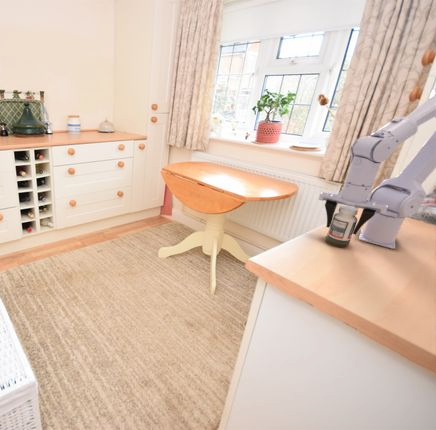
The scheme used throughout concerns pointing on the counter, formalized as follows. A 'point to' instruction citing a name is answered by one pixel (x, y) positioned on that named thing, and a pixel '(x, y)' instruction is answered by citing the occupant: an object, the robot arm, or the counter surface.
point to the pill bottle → (343, 223)
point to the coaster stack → (336, 242)
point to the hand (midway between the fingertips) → (341, 229)
